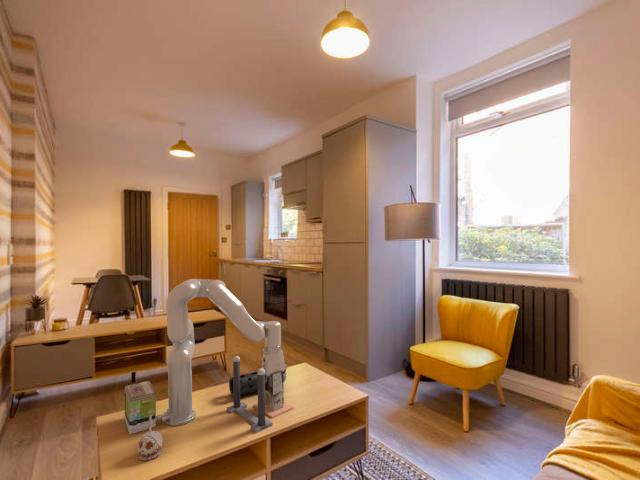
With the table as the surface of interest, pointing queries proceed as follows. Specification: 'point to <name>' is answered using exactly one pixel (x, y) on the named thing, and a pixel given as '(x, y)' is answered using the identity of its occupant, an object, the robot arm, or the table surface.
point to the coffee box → (275, 391)
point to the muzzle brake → (248, 383)
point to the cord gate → (239, 407)
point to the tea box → (139, 406)
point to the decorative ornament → (150, 443)
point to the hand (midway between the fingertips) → (273, 386)
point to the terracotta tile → (276, 412)
